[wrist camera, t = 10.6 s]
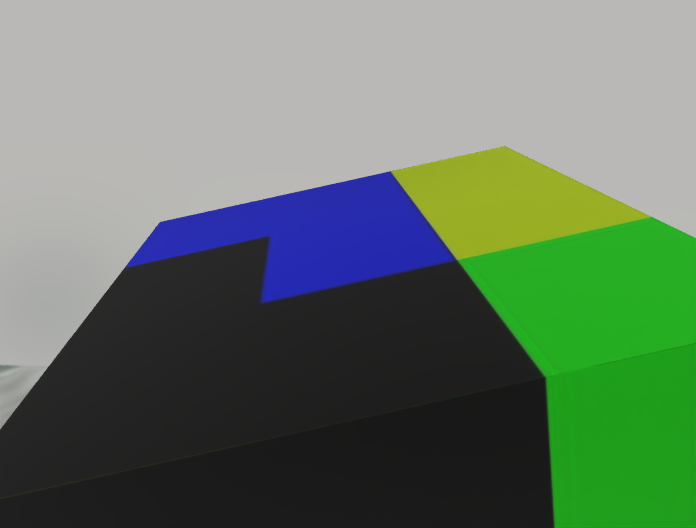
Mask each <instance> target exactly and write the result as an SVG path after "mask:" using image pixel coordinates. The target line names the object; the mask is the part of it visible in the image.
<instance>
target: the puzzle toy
mask: <svg viewBox="0 0 696 528" xmlns="http://www.w3.org/2000/svg"><path fill="white" fill-rule="evenodd" d="M0 528H696V238H694V237H692V236H690V235H688V234H686V233H684V232H682V231H680V230H678V229H676V228H674V227H671V226H669V225H667V224H665V223H663V222H661V221H659V220H657V219H655V218H653V217H651V216H649V215H646V214H645V213H642V212H640V211H638V210H636V209H634V208H632V207H630V206H628V205H626V204H624V203H622V202H620V201H618V200H615V199H613V198H611V197H609V196H607V195H605V194H603V193H601V192H599V191H597V190H595V189H593V188H591V187H589V186H586V185H584V184H582V183H580V182H578V181H576V180H574V179H572V178H570V177H568V176H566V175H563V174H561V173H559V172H557V171H555V170H553V169H551V168H549V167H547V166H545V165H543V164H541V163H539V162H537V161H535V160H533V159H530V158H528V157H526V156H524V155H522V154H520V153H518V152H516V151H514V150H512V149H510V148H508V147H506V146H504V147H499V148H495V149H490V150H486V151H481V152H476V153H472V154H468V155H463V156H458V157H454V158H449V159H445V160H441V161H436V162H431V163H426V164H422V165H417V166H413V167H408V168H404V169H399V170H395V171H390V172H386V173H381V174H377V175H372V176H368V177H363V178H358V179H354V180H349V181H345V182H341V183H336V184H331V185H327V186H322V187H318V188H313V189H308V190H304V191H300V192H295V193H290V194H286V195H281V196H276V197H272V198H267V199H263V200H259V201H254V202H249V203H245V204H240V205H236V206H231V207H227V208H222V209H218V210H213V211H208V212H204V213H200V214H195V215H190V216H186V217H181V218H176V219H172V220H167V221H163V222H160V223H159V224H158V225H157V227H156V228H155V229H154V231H153V232H152V233H151V234H150V236H149V237H148V238H147V240H146V241H145V242H144V244H143V245H142V246H141V247H140V249H139V250H138V251H137V253H136V254H135V255H134V257H133V258H132V259H131V260H130V262H129V263H128V264H127V266H126V267H125V268H124V270H123V271H122V272H121V274H120V275H119V276H118V277H117V279H116V280H115V281H114V283H113V284H112V285H111V286H110V288H109V289H108V290H107V292H106V293H105V294H104V296H103V297H102V298H101V299H100V301H99V302H98V303H97V305H96V306H95V307H94V309H93V310H92V311H91V312H90V314H89V315H88V316H87V318H86V319H85V320H84V321H83V323H82V324H81V326H80V327H79V328H78V329H77V331H76V332H75V333H74V334H73V336H72V337H71V338H70V340H69V341H68V342H67V343H66V345H65V346H64V348H63V349H62V350H61V351H60V353H59V354H58V355H57V357H56V358H55V359H54V361H53V362H52V363H51V364H50V366H49V367H48V368H47V369H46V371H45V372H44V373H43V375H42V376H41V377H40V379H39V380H38V381H37V382H36V384H35V385H34V386H33V388H32V389H31V390H30V392H29V393H28V394H27V395H26V397H25V398H24V399H23V401H22V402H21V403H20V405H19V406H18V407H17V408H16V410H15V411H14V412H13V414H12V415H11V416H10V418H9V419H8V420H7V421H6V423H5V424H4V425H3V427H2V428H1V429H0Z"/></svg>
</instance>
